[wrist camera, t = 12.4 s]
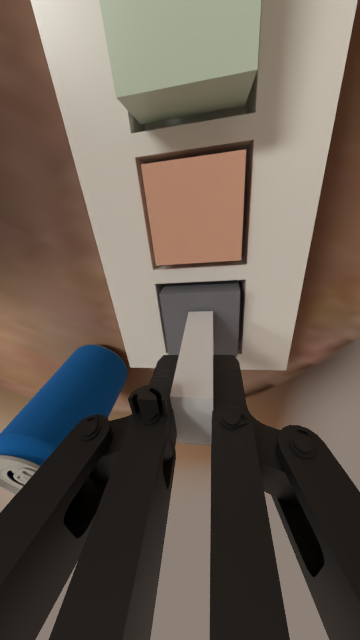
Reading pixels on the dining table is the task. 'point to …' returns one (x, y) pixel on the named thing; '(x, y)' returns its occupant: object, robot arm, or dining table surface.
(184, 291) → the charcoal key
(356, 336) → the dining table surface
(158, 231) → the terracotta key
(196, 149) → the keypad
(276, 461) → the robot arm
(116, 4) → the sage key
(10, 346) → the dining table surface
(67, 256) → the dining table surface
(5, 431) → the beverage can
